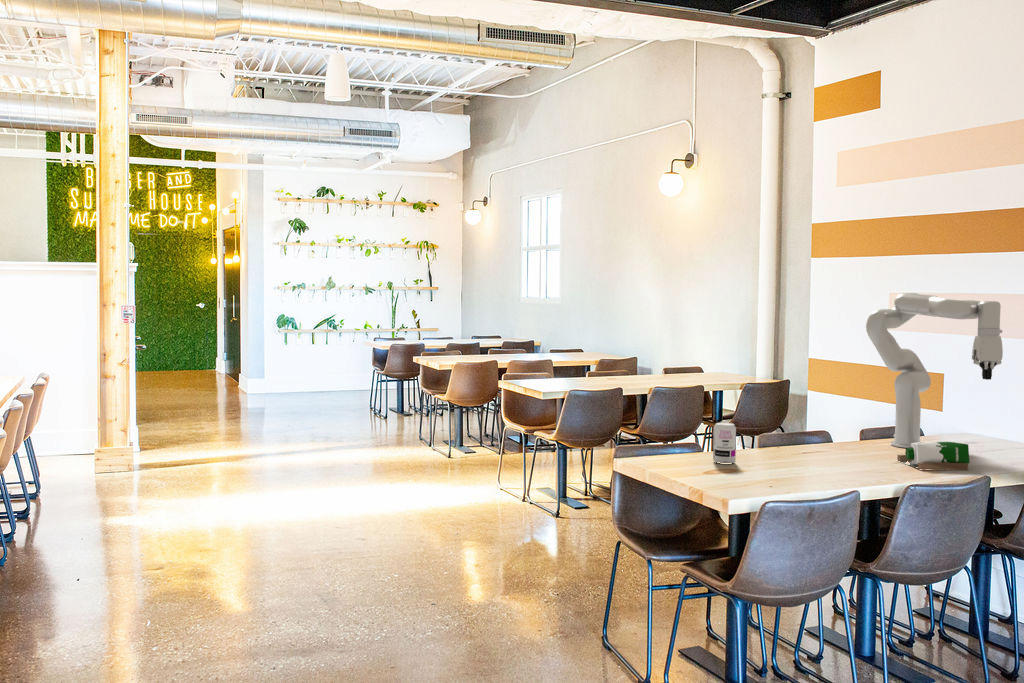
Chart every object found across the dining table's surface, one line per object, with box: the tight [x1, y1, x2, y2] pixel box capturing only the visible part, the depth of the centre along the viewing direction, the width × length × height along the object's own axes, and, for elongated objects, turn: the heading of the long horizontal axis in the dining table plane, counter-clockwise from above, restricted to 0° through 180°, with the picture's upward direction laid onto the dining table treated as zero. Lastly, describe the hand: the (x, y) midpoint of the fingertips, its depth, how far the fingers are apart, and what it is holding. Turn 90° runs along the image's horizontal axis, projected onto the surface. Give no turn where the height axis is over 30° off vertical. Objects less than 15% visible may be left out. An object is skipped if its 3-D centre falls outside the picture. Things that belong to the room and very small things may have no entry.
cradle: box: [896, 454, 969, 471], centre depth 321 cm, size 17×18×2 cm
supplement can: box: [712, 422, 737, 463], centre depth 325 cm, size 8×8×15 cm
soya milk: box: [904, 441, 970, 465], centre depth 319 cm, size 9×9×20 cm
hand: (986, 379), depth 335 cm, fingers closed
